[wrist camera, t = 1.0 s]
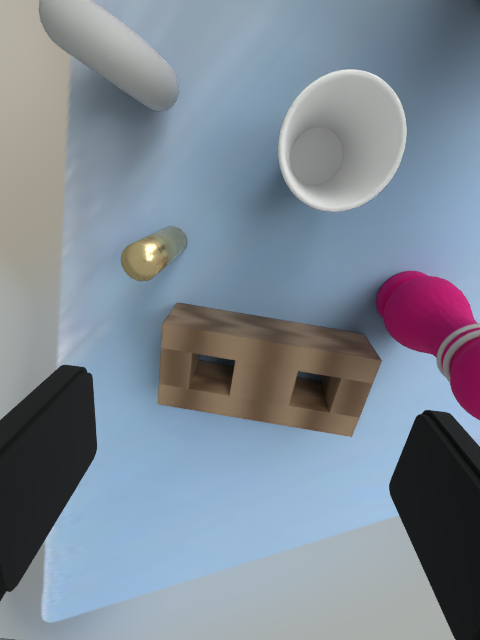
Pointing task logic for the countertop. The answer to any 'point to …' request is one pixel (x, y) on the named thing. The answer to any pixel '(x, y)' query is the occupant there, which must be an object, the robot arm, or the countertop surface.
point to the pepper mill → (436, 329)
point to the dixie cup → (342, 140)
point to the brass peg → (153, 253)
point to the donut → (110, 50)
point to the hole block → (265, 369)
